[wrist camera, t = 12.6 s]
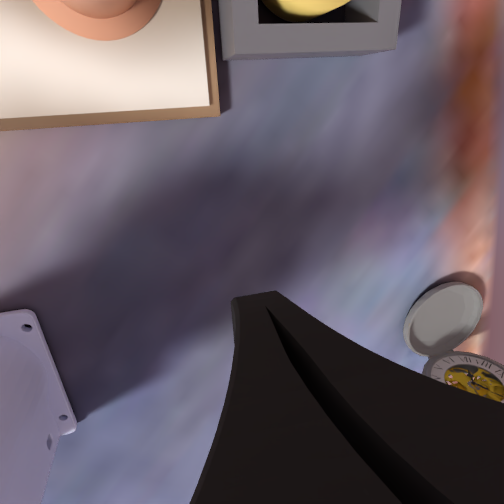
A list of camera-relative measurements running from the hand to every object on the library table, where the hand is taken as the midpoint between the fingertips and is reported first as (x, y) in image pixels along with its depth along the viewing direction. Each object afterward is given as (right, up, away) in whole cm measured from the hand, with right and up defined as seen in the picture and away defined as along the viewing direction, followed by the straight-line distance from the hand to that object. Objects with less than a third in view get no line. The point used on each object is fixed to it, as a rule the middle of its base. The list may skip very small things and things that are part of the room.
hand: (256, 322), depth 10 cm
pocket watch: (+14, -4, +18) cm, 23 cm away
